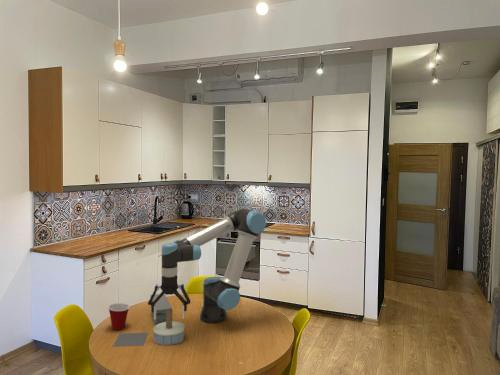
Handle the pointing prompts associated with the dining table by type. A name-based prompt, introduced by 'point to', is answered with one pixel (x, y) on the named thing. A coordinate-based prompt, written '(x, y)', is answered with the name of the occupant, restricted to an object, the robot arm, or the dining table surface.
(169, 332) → the lid
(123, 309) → the plastic cup
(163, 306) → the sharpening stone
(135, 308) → the dining table surface
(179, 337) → the bowl
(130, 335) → the mat
